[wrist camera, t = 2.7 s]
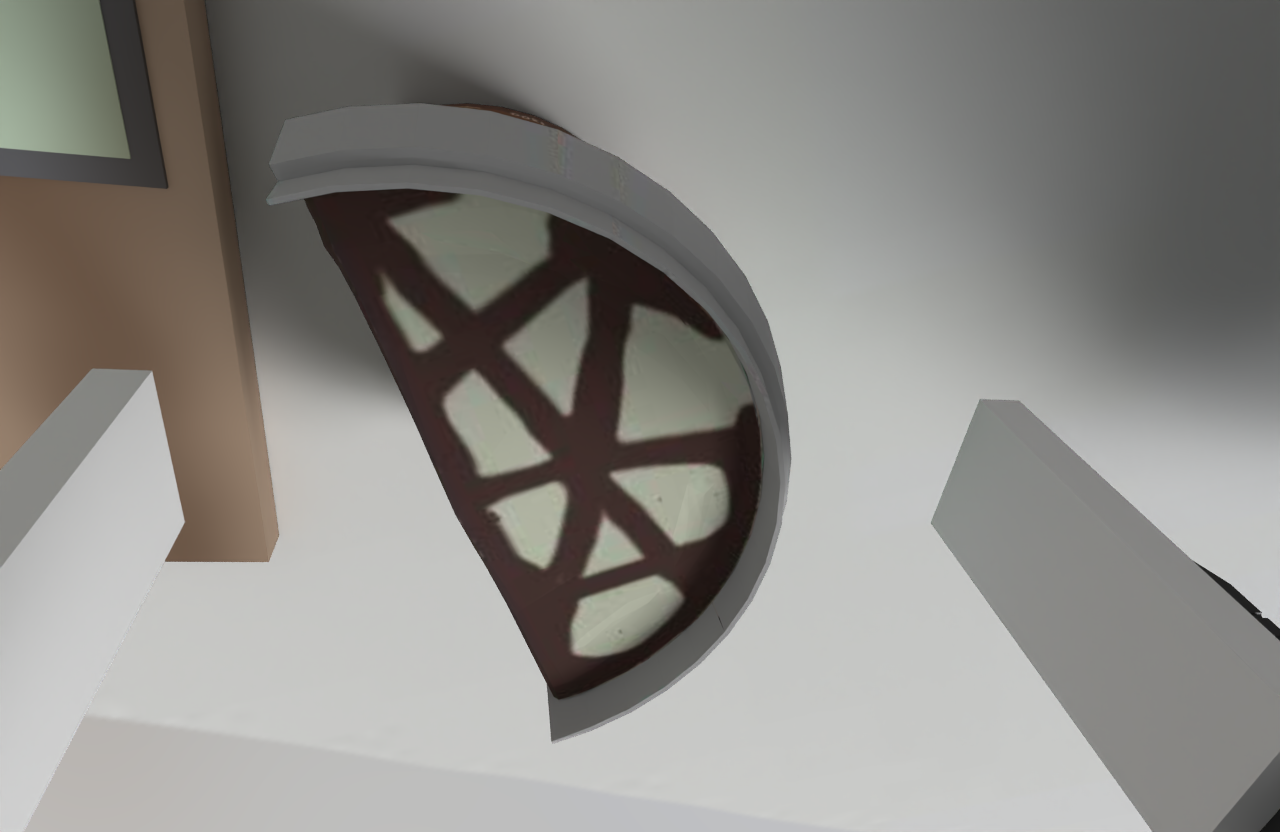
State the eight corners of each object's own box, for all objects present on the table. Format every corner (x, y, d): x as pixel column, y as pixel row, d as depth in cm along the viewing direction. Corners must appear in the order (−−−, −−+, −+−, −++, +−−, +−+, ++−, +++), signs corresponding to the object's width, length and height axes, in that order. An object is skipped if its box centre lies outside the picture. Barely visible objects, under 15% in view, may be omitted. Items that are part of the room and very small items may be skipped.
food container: (737, 414, 24) (857, 676, 16) (544, 470, 24) (560, 760, 16) (636, -36, 18) (749, 2, 9) (371, 45, 18) (241, 157, 9)
